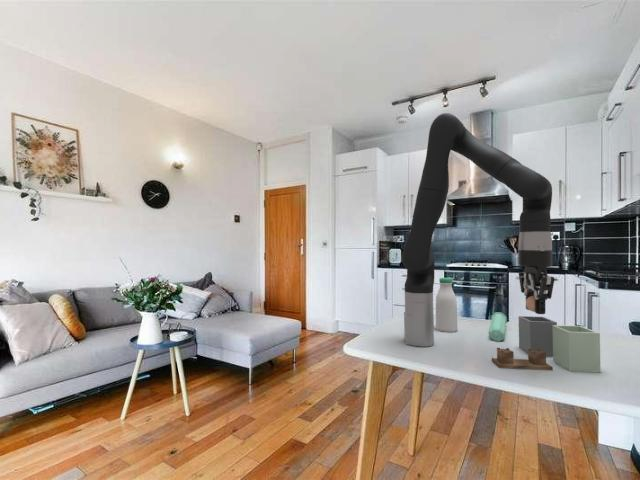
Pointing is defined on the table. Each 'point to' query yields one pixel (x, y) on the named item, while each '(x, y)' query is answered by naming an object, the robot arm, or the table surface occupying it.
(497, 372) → the table surface
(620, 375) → the table surface
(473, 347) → the table surface
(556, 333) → the pair of storage bins
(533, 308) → the terracotta ball
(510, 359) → the rack
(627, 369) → the table surface
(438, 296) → the milk bottle
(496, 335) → the container
